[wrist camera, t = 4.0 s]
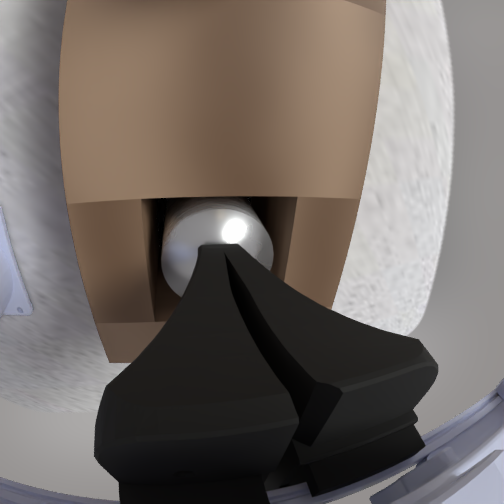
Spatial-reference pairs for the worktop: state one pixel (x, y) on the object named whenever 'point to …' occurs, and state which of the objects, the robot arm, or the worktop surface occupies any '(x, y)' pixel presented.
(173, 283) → the steel peg
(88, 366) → the worktop surface
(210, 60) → the walnut peg board
